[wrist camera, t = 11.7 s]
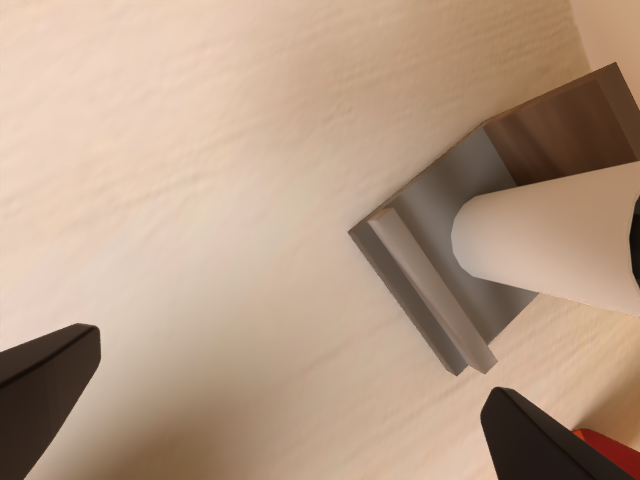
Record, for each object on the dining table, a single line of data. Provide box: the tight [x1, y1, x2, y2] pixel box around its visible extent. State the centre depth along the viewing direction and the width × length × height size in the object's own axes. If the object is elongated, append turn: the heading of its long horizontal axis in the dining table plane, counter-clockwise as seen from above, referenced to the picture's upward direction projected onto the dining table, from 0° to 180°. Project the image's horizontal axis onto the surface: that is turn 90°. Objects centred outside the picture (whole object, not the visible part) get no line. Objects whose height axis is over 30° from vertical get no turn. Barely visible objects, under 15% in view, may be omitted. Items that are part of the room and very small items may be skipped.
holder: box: [348, 62, 640, 376], centre depth 19 cm, size 13×12×8 cm
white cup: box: [451, 161, 640, 317], centre depth 17 cm, size 7×7×10 cm
